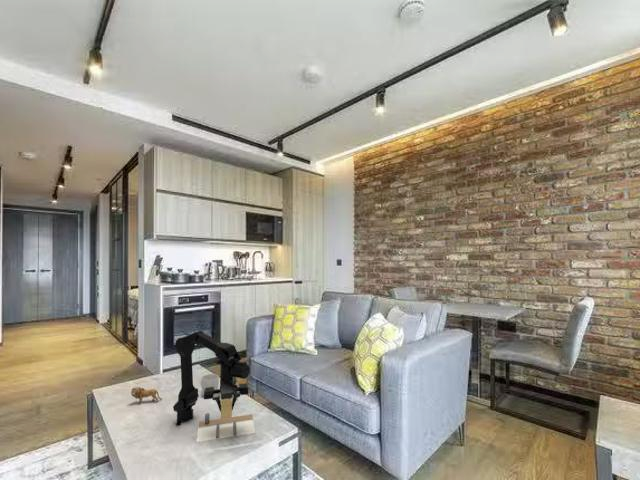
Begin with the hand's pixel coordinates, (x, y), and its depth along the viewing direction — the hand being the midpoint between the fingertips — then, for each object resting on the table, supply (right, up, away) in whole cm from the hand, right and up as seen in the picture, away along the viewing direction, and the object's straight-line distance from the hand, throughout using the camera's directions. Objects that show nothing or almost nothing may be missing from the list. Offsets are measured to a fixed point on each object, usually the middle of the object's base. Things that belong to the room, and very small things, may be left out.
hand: (226, 410), depth 139 cm
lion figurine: (-51, -11, +28) cm, 59 cm away
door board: (-1, -10, +3) cm, 11 cm away
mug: (-22, -12, +38) cm, 45 cm away
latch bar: (0, -1, 0) cm, 1 cm away
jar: (-7, -11, +29) cm, 32 cm away
